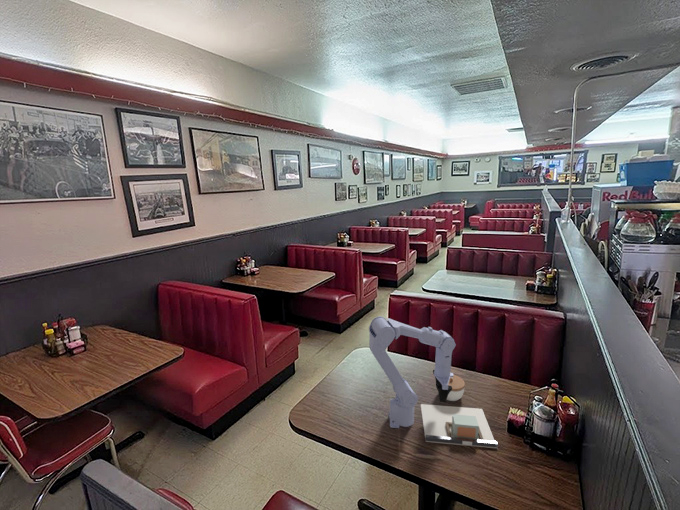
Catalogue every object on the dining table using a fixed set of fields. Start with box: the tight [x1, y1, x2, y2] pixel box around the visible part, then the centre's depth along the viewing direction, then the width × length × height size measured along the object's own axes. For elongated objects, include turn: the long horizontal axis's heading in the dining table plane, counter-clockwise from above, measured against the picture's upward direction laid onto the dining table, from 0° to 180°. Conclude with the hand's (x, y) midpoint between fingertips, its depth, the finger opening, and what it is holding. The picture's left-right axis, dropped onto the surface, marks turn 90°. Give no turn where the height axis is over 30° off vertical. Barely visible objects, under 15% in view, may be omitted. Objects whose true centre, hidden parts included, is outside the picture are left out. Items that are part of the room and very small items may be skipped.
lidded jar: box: [446, 374, 466, 402], centre depth 141 cm, size 11×11×9 cm
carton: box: [452, 414, 479, 439], centre depth 119 cm, size 5×8×6 cm, turn 81°
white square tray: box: [420, 403, 499, 449], centre depth 125 cm, size 24×20×2 cm
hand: (441, 394), depth 129 cm, fingers open, 7 cm apart
